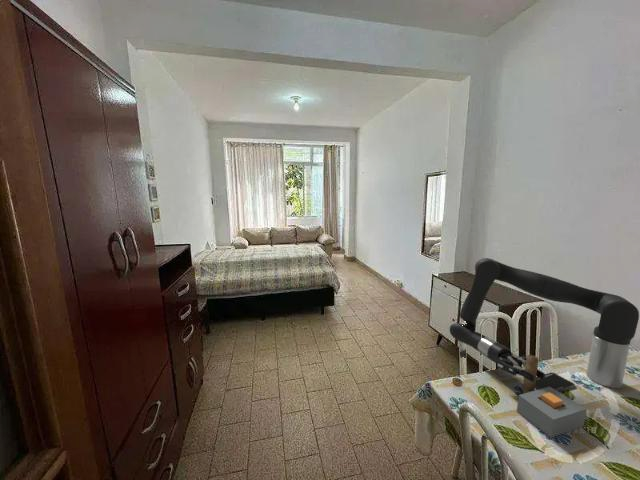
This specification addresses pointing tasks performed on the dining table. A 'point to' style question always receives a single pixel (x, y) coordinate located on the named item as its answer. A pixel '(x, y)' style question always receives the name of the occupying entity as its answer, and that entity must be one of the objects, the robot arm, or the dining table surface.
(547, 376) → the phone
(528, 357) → the brown wooden rod
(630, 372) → the dining table surface
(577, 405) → the box
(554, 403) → the button
